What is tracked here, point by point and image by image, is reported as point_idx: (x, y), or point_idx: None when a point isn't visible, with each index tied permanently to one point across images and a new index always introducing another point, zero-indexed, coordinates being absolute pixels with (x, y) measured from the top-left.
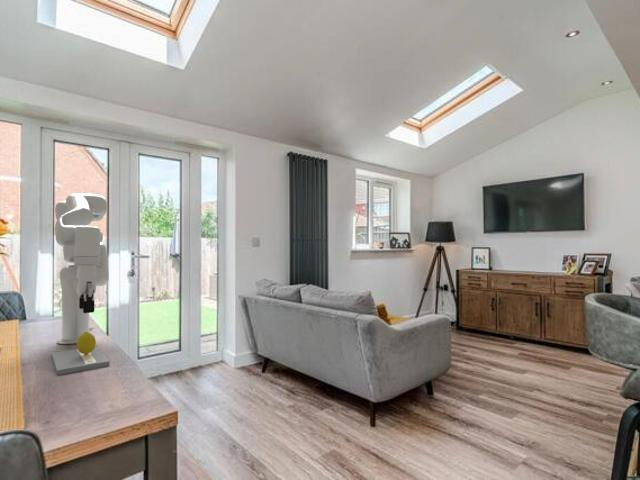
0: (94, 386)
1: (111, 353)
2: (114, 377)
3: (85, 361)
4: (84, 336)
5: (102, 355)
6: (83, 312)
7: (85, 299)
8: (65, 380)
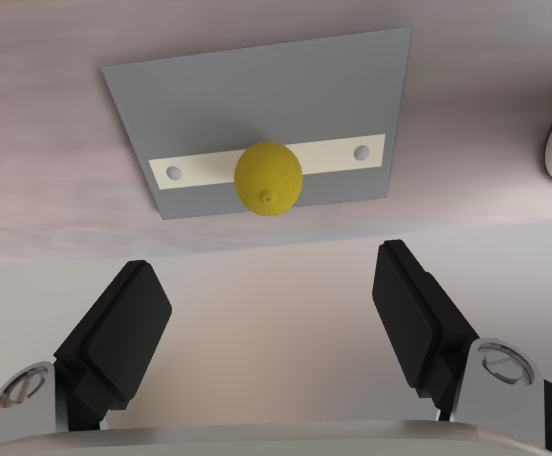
0: None
1: (301, 224)
2: (52, 217)
3: (181, 159)
4: (242, 185)
5: (238, 206)
6: (127, 262)
7: (6, 396)
8: (45, 97)
